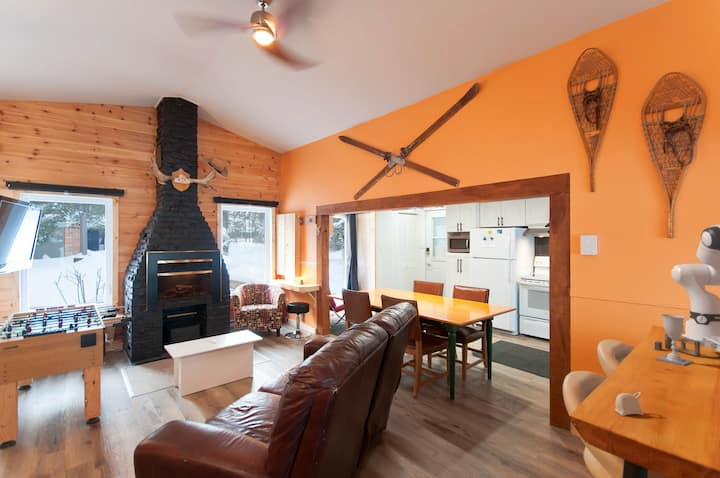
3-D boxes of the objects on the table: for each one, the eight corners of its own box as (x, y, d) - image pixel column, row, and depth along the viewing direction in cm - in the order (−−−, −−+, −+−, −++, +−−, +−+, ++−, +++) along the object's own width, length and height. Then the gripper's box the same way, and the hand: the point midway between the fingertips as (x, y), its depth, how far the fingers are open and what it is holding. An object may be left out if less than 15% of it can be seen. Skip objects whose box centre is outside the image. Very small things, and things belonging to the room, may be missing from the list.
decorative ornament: (609, 409, 99) (609, 390, 99) (637, 408, 100) (636, 390, 100) (621, 416, 95) (620, 397, 95) (649, 415, 95) (649, 396, 96)
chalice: (658, 357, 144) (657, 315, 144) (668, 355, 146) (667, 313, 147) (680, 363, 137) (679, 318, 138) (689, 361, 140) (688, 317, 140)
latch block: (657, 348, 159) (657, 341, 159) (661, 349, 158) (661, 341, 158) (654, 349, 158) (654, 341, 158) (659, 350, 156) (659, 342, 156)
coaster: (664, 356, 148) (664, 354, 148) (692, 362, 140) (692, 360, 140) (655, 359, 143) (655, 358, 143) (684, 365, 136) (684, 364, 136)
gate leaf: (663, 347, 160) (663, 334, 160) (667, 346, 160) (667, 334, 160) (696, 356, 146) (696, 342, 147) (701, 355, 147) (700, 341, 147)
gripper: (725, 333, 153) (685, 330, 159) (755, 345, 135) (709, 341, 140) (726, 347, 153) (686, 344, 159) (756, 361, 134) (709, 356, 140)
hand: (697, 342), depth 149 cm, fingers closed
